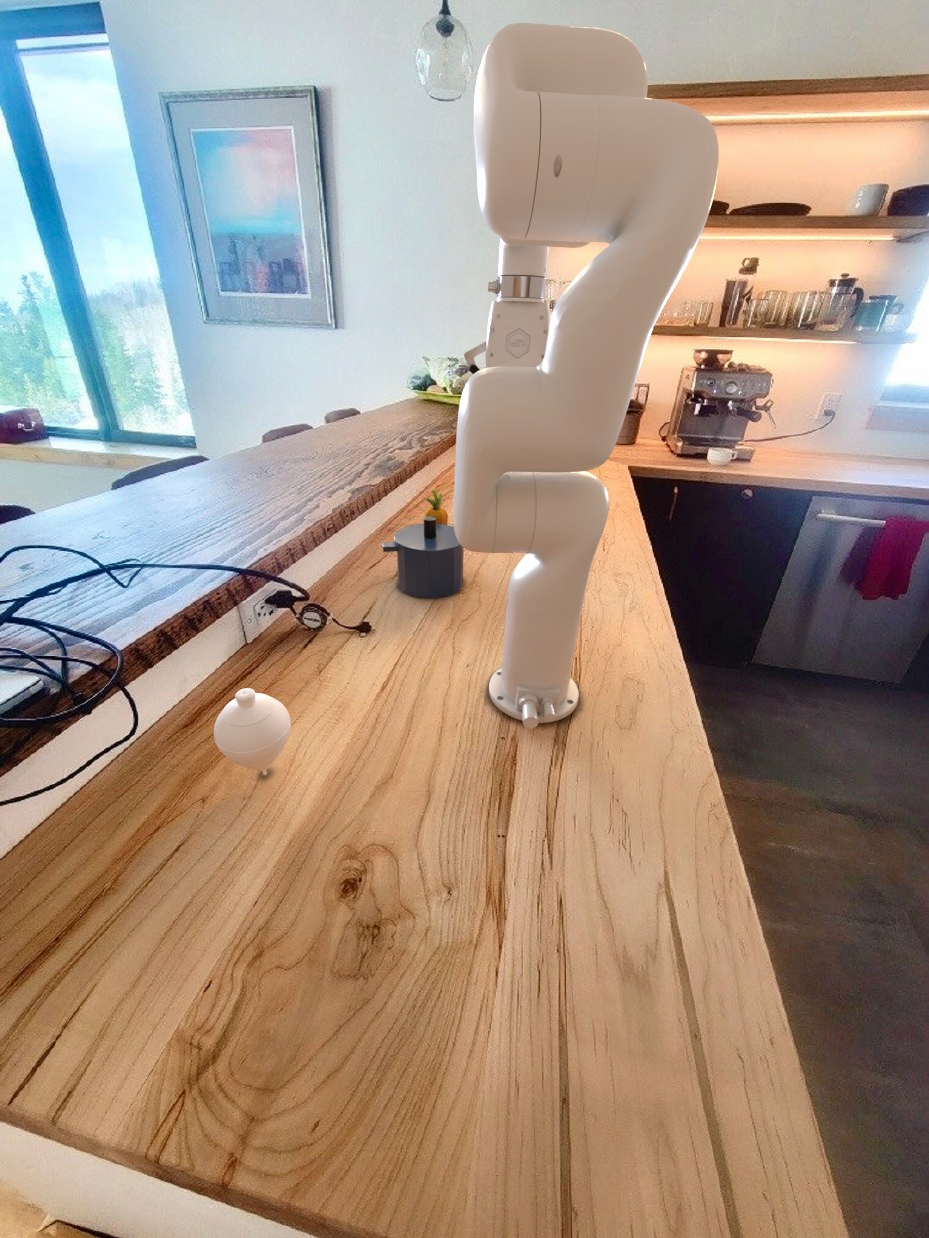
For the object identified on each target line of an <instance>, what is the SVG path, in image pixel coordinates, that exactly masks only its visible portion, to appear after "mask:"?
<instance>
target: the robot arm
mask: <svg viewBox="0 0 929 1238" xmlns="http://www.w3.org/2000/svg"><path fill="white" fill-rule="evenodd" d="M481 59H482V60H481V63H480V66H479V69H478V74H477V79H476V84H475V90H474V91H475V92H474V98H473V99H474V100H473V141H474V152H475V153H474V154H475V164H476V167H475V168H476V184H477V197H478V204H479V209H480V212H481V215H482V218H483V220H484V223H485V224H486V226H487V227H488V228H489V229H490V231H492V232H493V233H494V234H496V235H498V236H499V249H498V251H499V253H498V267H497V269H498V270H497V271H498V273H497V279H495V280H493V281H488V285H487V286H488V289H487V292H488V293H492V294H495V295H496V300H492V301H491V304H490V309H489V314H488V320H487V321H488V322H487V331H486V341H484V342H482V343H480V344H478V345H476V346H474V347H473V348H470V349H469V350H467V351H466V352H464V355H463V357H464V360H465V362H466V364H467V366H468V368H469V371H470V372H471V374H472V375H471V376H470V377H469V378H468V380H467V381H466V383H465V385H464V387H463V390H462V392H461V396H460V400H459V405H458V411H457V424H456V438H455V457H454V458H455V459H454V477H453V478H454V480H453V496H452V497H453V498H452V524H453V525H452V527H454V532H455V535H456V538H457V540H458V542H459V543H460V545H461V546H462V547H464V550H467V551H469V552H473V553H482V554H483V553H484V554H486V553H487V554H524V556H523V557H522V558H521V559H520V560H519V562H518V563H517V565H516V566H515V568H514V569H513V572H512V574H511V576H510V578H509V582H508V588H507V599H506V600H507V601H506V612H505V624H504V635H503V646H502V647H503V648H502V657H501V658H502V660H501V667H500V668H498V669H497V670H496V671H495V672H493V674H492V676H491V677H490V679H489V683H488V694H489V698H490V700H491V702H492V703H493V704H494V705H495V707H496V708H497V709H499V711H500V712H502V713H503V714H505V715H507V716H509V717H511V718H514V719H515V720H519V721H522V724H523V725H522V726H523V727H525V728H526V729H529V730H530V729H535V728H536V727H538V725H539V724H546V723H552V722H557V721H560V720H562V719H564V718H567V717H568V716H570V715H571V714H572V713H573V712H574V711H575V709H576V708H577V705H578V702H579V697H580V693H579V688H578V686H577V683H576V682H575V680H574V679H573V678H572V677H571V676H572V671H573V665H574V659H575V653H576V649H577V643H578V642H577V641H578V636H579V631H580V626H581V618H582V615H583V614H582V613H583V608H584V603H585V598H586V597H585V596H586V592H587V587H588V586H587V585H588V581H589V576H590V572H591V569H592V565H593V562H594V557H595V555H596V551H597V549H598V546H599V544H600V540H601V538H602V536H603V533H604V530H605V527H606V524H607V521H608V516H609V511H610V497H609V492H608V490H607V486H606V485H605V484H604V482H603V481H602V480H601V479H600V478H599V477H598V476H596V475H595V474H594V473H591V472H589V471H592V470H595V469H597V468H600V467H601V466H602V465H604V464H605V463H606V462H607V460H608V459H609V458H610V457H611V454H612V453H613V451H614V449H615V447H616V444H617V441H618V439H619V436H620V434H621V430H622V428H623V424H624V421H625V418H626V415H627V412H628V409H629V406H630V402H631V399H632V396H633V392H634V389H635V386H636V383H637V380H638V377H639V373H640V369H641V367H642V364H643V360H644V356H645V354H646V351H647V346H648V343H649V341H650V338H651V335H652V333H653V330H654V327H655V325H656V323H657V322H658V319H659V317H660V315H661V313H662V311H663V309H664V307H665V305H666V303H667V301H668V299H669V298H670V296H671V294H672V293H673V291H674V289H675V287H676V286H677V284H678V282H679V281H680V279H681V277H682V275H683V273H684V272H685V269H686V268H687V266H688V264H689V262H690V260H691V258H692V256H693V254H694V252H695V250H696V248H697V245H698V243H699V240H700V239H701V237H702V234H703V231H704V228H705V226H706V223H707V221H708V217H709V214H710V211H711V207H712V204H713V200H714V195H715V191H716V188H717V187H716V186H717V180H718V173H719V163H720V162H719V161H720V147H719V140H718V135H717V133H716V132H717V131H716V130H715V127H714V125H713V124H712V122H711V121H710V119H709V118H708V117H706V116H705V114H703V113H702V112H700V111H698V110H697V109H695V108H693V107H691V106H688V105H685V104H682V103H679V102H674V101H671V100H665V99H658V98H652V97H648V90H649V89H648V87H649V80H648V71H647V66H646V62H645V60H644V57H643V55H642V53H641V51H640V50H639V49H638V47H637V46H636V45H635V43H634V42H633V41H632V40H630V39H629V37H626V36H625V35H623V34H621V33H619V32H617V31H614V30H610V29H605V28H600V27H586V26H585V27H584V26H571V25H570V26H569V25H558V24H544V23H534V22H533V23H531V22H516V23H510V24H507V25H505V26H504V27H502V28H501V29H499V31H497V32H496V33H495V34H494V36H493V37H492V38H491V40H490V42H489V43H488V45H487V47H486V49H485V52H484V53H483V56H482V58H481ZM590 243H604V244H605V243H606V244H608V246H607V247H606V248H604V249H603V250H602V251H601V252H599V253H598V254H597V255H596V256H595V257H594V258H593V259H592V260H590V262H588V263H587V264H586V265H585V267H583V269H581V271H580V272H579V273H578V274H577V276H575V277H574V279H573V280H572V281H571V282H570V284H569V285H568V287H567V288H566V289H565V290H564V291H563V293H562V294H561V295H560V296H559V298H558V300H557V302H556V304H555V305H554V307H553V310H552V311H551V309H550V302H545V298H546V288H547V287H546V286H547V277H548V265H549V253H550V248H552V247H553V248H567V249H578V248H583V247H586V246H587V245H590ZM550 311H551V312H550ZM550 314H551V315H550ZM482 353H485V368H482V369H480V368H479V366H477V364H476V361H475V357H477V356H479V355H480V354H482Z"/></svg>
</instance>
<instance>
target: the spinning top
mask: <svg viewBox="0 0 929 1238" xmlns="http://www.w3.org/2000/svg"><path fill="white" fill-rule="evenodd" d="M291 720H292V719H291V716H290V713H289V711H288V709H287V708H286V707H285V705H284V704H283V703H282V702H281V701H280V700H278V699H277V698H274V697H272V696H270V695H268V694H266V693H261V692H256V691H255V690H254V689H253V688H250V687H246V688H245V687H244V688H242V689H239V690H238V691H237V692H236V693H235V695H234V699H232V700H231V701H229V702H228V703H227V704H226V705H225V706H224V708H223V709H222V710H221V711H220V713H219V714H218V716H217V718H216V720H215V723H214V726H213V738H214V739H213V740H214V742H215V745H216V747H217V748H218V750H219V751H220V752H221V753H222V755H223V756H225V757H226V758H227V759H229V760H230V761H232V762H233V763H235V764H236V765H238V766H241V767H244V768H247V769H250V770H253V771H259V772H262V775H263V776H266V775H267V770H268V769H269V768H270V767H271V766H272V764H273V763H275V762H276V760H277V759H278V757H279V756H280V754H281V753H282V752H283V750H284V748H285V746H286V745H287V742H288V740H289V737H290V734H291V728H292V723H291V722H292V721H291Z"/></svg>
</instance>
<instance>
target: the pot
mask: <svg viewBox="0 0 929 1238" xmlns="http://www.w3.org/2000/svg"><path fill="white" fill-rule="evenodd" d="M381 547H382V551H383V553H391V552H396V560H397V562H396V563H397V581H398V587H399V589H400V590H401V591H402V592H404V593H405V594H407V595H409V596H412V597H416V598H420V599H421V598H422V599H440V598H445V597H448V596H451V595H454V594H456V593H457V592H458V591H460V590H461V588H462V586H463V582H464V552H465V551H464V550H465V548H464V547H462V546H461V547H459V548H457V549H454V550H451V551H446V552H439V553H423V552H415V551H410V550H407V549H404V548H402V547H400V546H398V545H397V544H396V543H395V541H383V542H382V543H381Z"/></svg>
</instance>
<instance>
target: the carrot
mask: <svg viewBox="0 0 929 1238" xmlns="http://www.w3.org/2000/svg"><path fill="white" fill-rule="evenodd" d="M431 491H432V492H431V493H432V495H433V498H430V497H424V499H425V501H426V502H429V504H430V505H431V506H430V507H428V508H427V509H425V511H424V517H427V516H433V517H436V518H437V524H443V525H448V520H449V519H448V518H449V517H448V516H449V515H448V511H447V510H446V509H445V508H444V507H441V503H442V500H443V494H442V493H439V494H438V492H437V489H432V490H431Z"/></svg>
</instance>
